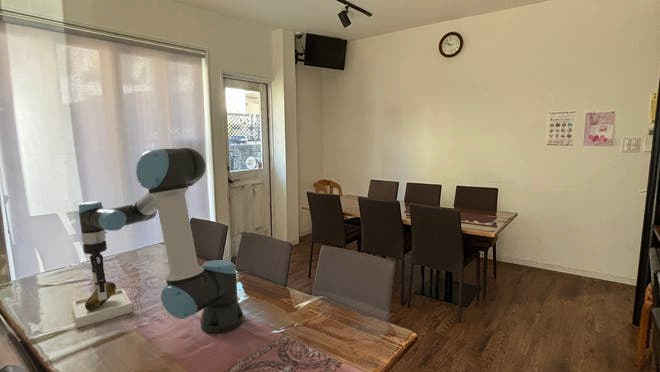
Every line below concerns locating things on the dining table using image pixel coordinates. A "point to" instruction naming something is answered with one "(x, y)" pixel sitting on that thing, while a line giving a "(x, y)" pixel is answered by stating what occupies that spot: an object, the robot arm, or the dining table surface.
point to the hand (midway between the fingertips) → (100, 293)
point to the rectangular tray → (102, 309)
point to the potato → (94, 300)
